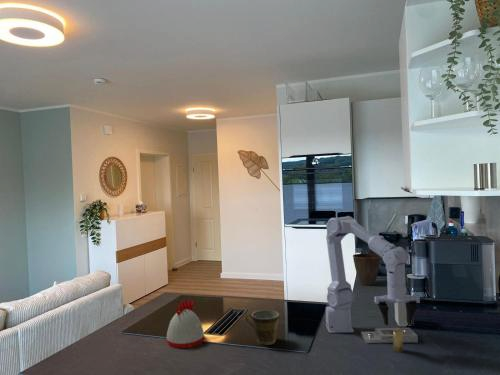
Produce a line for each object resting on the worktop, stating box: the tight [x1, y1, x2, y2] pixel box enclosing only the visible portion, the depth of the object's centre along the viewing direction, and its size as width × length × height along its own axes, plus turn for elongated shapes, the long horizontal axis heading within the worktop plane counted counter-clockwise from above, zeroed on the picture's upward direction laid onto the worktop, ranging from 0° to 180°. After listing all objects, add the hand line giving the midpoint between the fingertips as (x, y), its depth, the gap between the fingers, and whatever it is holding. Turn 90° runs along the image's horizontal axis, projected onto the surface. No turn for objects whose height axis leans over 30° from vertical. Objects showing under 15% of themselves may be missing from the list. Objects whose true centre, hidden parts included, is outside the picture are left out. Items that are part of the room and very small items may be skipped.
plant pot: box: [352, 253, 382, 287], centre depth 214 cm, size 15×15×16 cm
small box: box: [394, 303, 408, 328], centre depth 153 cm, size 8×6×10 cm
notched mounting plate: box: [360, 327, 419, 344], centre depth 139 cm, size 18×8×3 cm, turn 88°
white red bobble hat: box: [166, 299, 205, 349], centre depth 143 cm, size 14×14×15 cm
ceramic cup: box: [245, 309, 280, 346], centre depth 140 cm, size 13×10×10 cm
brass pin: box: [392, 327, 404, 353], centre depth 129 cm, size 3×3×7 cm
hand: (397, 323), depth 129 cm, fingers open, 7 cm apart
